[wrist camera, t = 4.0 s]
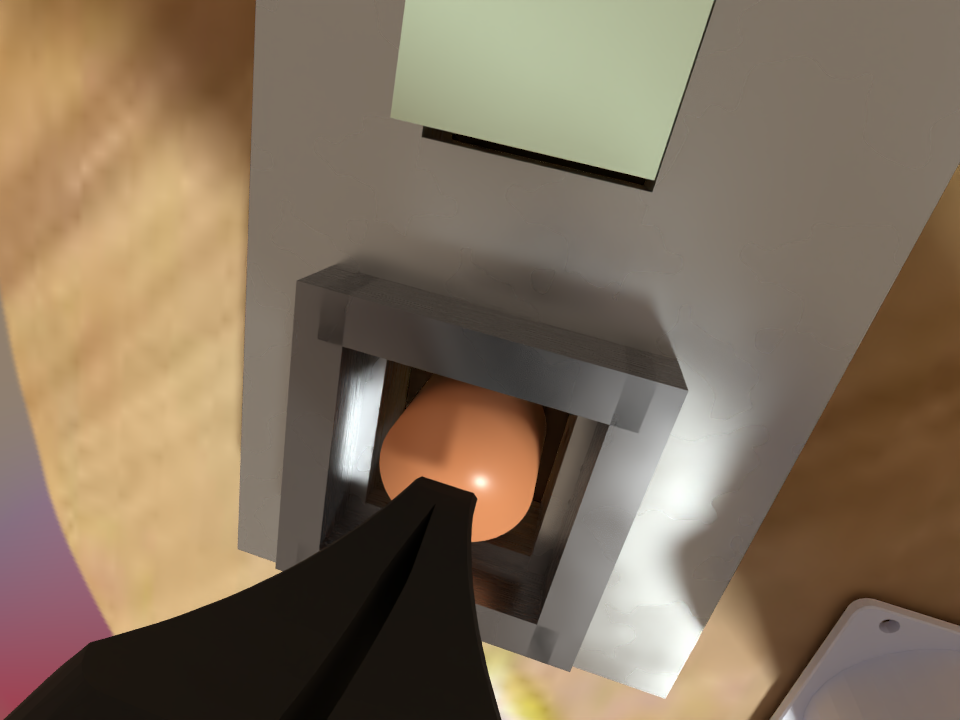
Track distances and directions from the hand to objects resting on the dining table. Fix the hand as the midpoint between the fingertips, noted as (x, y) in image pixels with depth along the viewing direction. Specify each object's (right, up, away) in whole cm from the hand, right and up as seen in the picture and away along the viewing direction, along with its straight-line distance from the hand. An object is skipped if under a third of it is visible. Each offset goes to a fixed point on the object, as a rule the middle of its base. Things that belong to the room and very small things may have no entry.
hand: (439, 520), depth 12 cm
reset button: (+1, +2, +4) cm, 5 cm away
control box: (+3, +6, +3) cm, 7 cm away
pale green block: (+3, +10, -1) cm, 11 cm away
